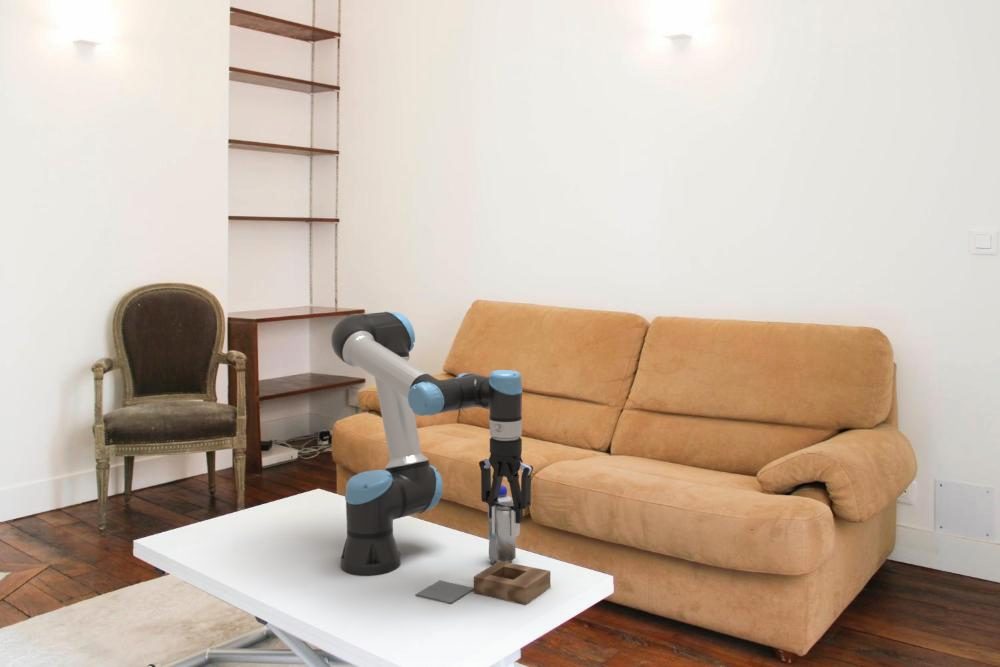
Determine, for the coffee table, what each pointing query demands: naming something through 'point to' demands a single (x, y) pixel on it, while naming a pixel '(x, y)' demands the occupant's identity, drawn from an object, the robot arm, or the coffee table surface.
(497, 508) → the shiny metal cylinder
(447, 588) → the mat
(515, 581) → the housing
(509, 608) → the coffee table surface
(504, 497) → the bottle
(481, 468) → the robot arm
